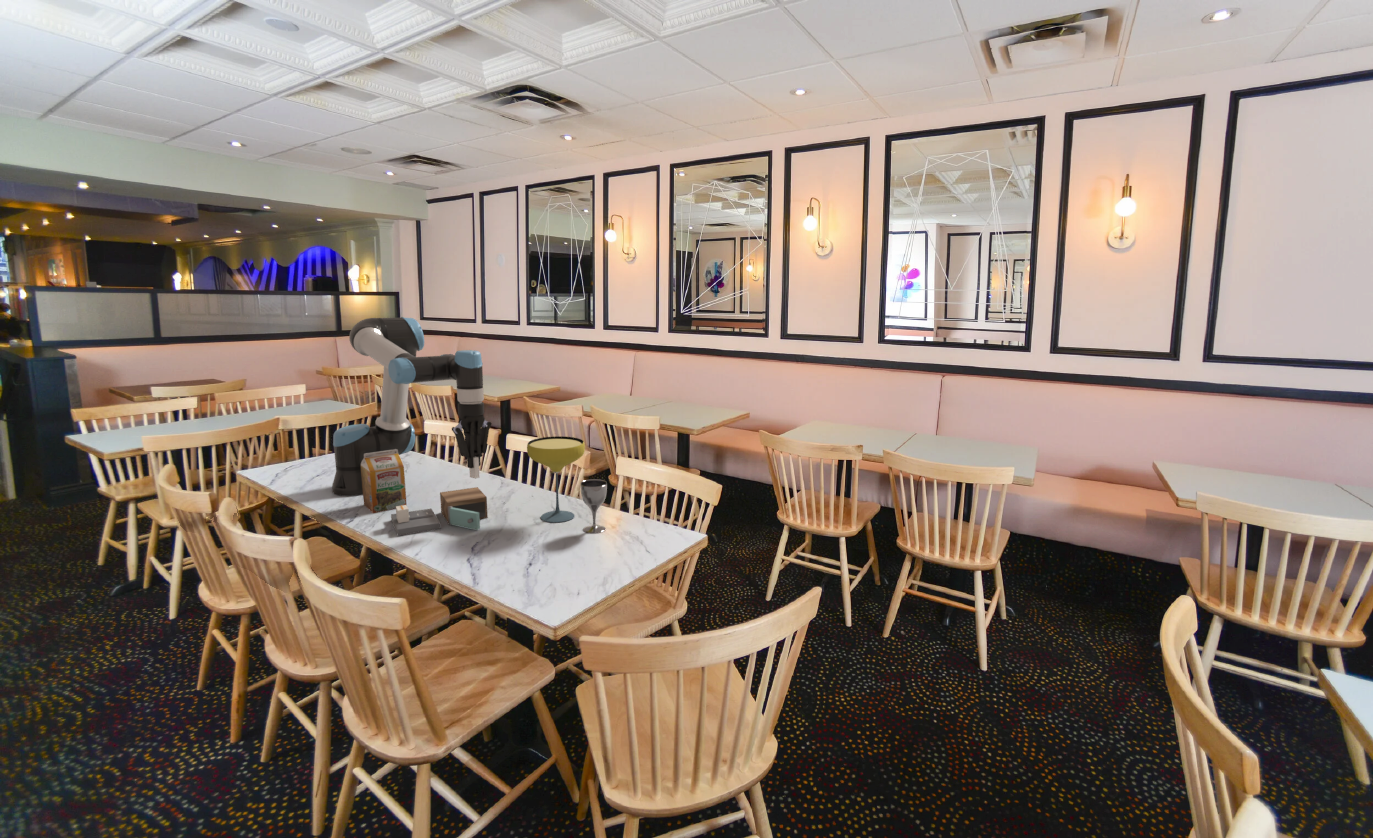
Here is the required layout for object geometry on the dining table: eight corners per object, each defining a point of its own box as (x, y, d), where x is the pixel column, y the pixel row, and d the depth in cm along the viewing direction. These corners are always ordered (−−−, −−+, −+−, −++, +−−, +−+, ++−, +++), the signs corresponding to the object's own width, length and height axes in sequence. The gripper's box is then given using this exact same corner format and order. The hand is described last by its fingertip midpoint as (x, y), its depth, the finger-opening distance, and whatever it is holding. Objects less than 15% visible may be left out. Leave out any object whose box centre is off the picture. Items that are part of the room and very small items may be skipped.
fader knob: (396, 518, 195) (395, 505, 194) (407, 517, 196) (406, 504, 195) (398, 523, 191) (397, 510, 190) (409, 521, 192) (408, 508, 192)
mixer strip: (391, 520, 199) (390, 514, 198) (431, 514, 205) (431, 508, 205) (397, 536, 186) (397, 529, 186) (440, 528, 193) (440, 522, 192)
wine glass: (611, 526, 197) (611, 480, 194) (600, 535, 190) (599, 488, 187) (588, 523, 199) (588, 478, 197) (576, 532, 192) (575, 485, 189)
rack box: (441, 512, 207) (440, 492, 205) (478, 506, 213) (477, 487, 211) (448, 524, 197) (447, 502, 195) (487, 517, 203) (486, 497, 201)
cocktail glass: (596, 513, 209) (595, 440, 204) (564, 530, 193) (562, 451, 188) (552, 504, 217) (550, 434, 212) (517, 521, 200) (514, 444, 196)
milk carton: (373, 513, 205) (368, 457, 201) (364, 505, 213) (359, 450, 209) (406, 506, 212) (402, 452, 208) (396, 499, 220) (392, 446, 216)
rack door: (450, 523, 197) (449, 505, 196) (480, 529, 192) (479, 511, 191) (444, 526, 195) (443, 508, 194) (474, 532, 190) (473, 513, 189)
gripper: (480, 398, 197) (484, 470, 201) (444, 403, 186) (448, 480, 190) (496, 400, 192) (499, 474, 197) (459, 406, 182) (464, 484, 186)
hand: (474, 477), depth 194 cm, fingers closed
